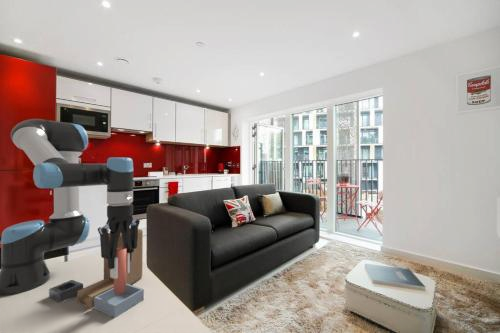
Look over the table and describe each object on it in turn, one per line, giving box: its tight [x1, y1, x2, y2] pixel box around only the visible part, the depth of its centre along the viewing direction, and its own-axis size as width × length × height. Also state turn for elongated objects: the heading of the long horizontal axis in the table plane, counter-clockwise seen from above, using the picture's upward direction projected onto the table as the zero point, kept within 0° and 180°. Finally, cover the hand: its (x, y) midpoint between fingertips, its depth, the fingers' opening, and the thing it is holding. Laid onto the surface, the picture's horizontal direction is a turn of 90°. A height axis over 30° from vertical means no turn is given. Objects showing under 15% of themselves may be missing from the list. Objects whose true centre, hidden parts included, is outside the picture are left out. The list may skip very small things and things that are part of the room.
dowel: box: [114, 247, 127, 295], centre depth 75 cm, size 4×4×14 cm
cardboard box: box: [76, 278, 114, 309], centre depth 79 cm, size 8×10×4 cm
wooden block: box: [103, 228, 144, 285], centre depth 89 cm, size 10×10×20 cm
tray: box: [93, 284, 145, 318], centre depth 75 cm, size 10×10×4 cm
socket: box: [48, 279, 84, 304], centre depth 80 cm, size 7×7×3 cm
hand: (120, 274), depth 75 cm, fingers closed on dowel, 3 cm apart
